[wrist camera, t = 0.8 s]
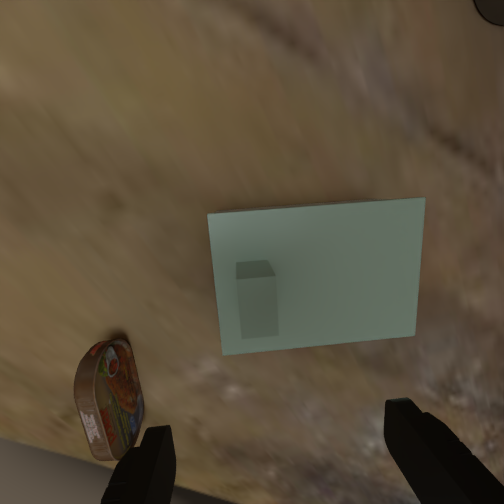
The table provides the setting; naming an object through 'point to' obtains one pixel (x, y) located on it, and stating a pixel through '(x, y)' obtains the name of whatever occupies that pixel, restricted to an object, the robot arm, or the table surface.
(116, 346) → the tin
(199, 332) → the table surface
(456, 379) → the table surface
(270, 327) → the lid
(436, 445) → the robot arm
